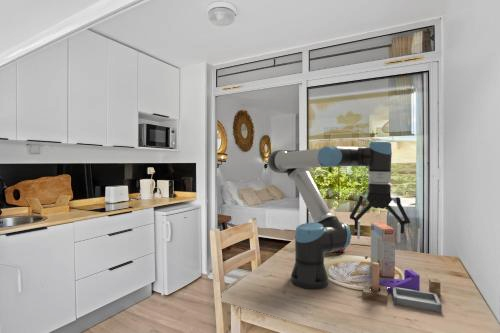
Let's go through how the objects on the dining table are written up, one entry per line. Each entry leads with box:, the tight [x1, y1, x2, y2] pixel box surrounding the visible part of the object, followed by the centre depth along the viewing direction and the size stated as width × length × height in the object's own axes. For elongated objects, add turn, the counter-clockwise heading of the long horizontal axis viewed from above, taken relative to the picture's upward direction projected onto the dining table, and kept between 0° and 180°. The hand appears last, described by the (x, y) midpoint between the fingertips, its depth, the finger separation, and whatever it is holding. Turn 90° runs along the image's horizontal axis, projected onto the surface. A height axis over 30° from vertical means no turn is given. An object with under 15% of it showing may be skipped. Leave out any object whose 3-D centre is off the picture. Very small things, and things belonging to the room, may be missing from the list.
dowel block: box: [362, 282, 389, 304], centre depth 105 cm, size 8×8×2 cm
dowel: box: [370, 262, 380, 292], centre depth 105 cm, size 3×3×12 cm
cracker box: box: [370, 222, 396, 278], centre depth 128 cm, size 14×6×21 cm, turn 175°
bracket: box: [379, 269, 421, 293], centre depth 111 cm, size 12×7×7 cm, turn 90°
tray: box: [391, 287, 443, 313], centre depth 100 cm, size 14×9×2 cm, turn 66°
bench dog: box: [428, 277, 441, 297], centre depth 107 cm, size 3×4×5 cm
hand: (378, 239), depth 105 cm, fingers open, 13 cm apart
